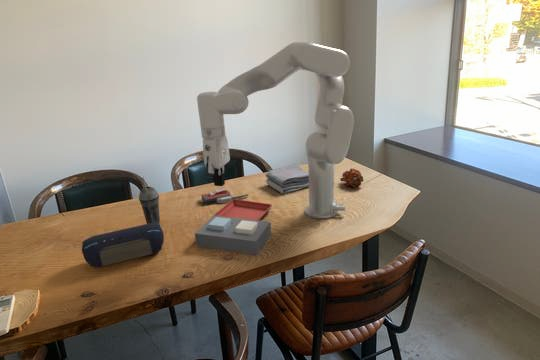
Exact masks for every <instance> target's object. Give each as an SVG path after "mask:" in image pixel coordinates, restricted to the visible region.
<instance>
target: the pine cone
mask: <svg viewBox="0 0 540 360" xmlns="http://www.w3.org/2000/svg"><path fill="white" fill-rule="evenodd" d="M341 177H342V178H341ZM341 177H340V178H339V179H340V182H344V183H345V185H346V186H347V187H353V188H357V187H359V186H361V185H362V182H364V176H363V174H362V172H361V171H360V170H358V169H356V168H351V167H350V168H349V170H345V171H344V172H342V176H341Z"/></svg>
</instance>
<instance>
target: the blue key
mask: <svg viewBox="0 0 540 360" xmlns="http://www.w3.org/2000/svg"><path fill="white" fill-rule="evenodd" d="M230 225H231V219H229V218H220V217H215V218H214V219H213V220H212V221H211V222H210V223H209V224H208V227H209V229H210V230H218V231H226V229H227V228H228V227H229V226H230Z"/></svg>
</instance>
